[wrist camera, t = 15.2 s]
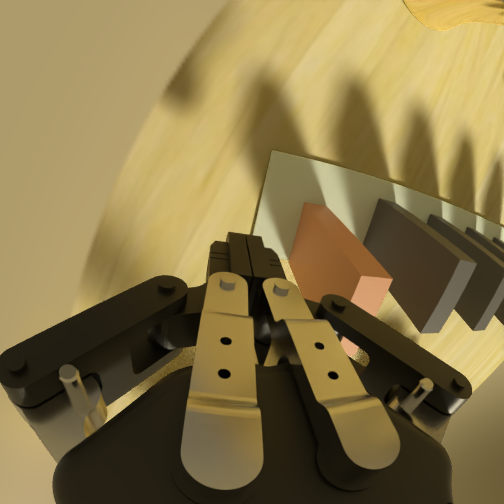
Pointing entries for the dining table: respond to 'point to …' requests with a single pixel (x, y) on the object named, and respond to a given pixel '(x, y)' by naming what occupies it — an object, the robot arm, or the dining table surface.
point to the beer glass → (456, 12)
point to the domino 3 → (475, 276)
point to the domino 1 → (335, 264)
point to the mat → (342, 201)
